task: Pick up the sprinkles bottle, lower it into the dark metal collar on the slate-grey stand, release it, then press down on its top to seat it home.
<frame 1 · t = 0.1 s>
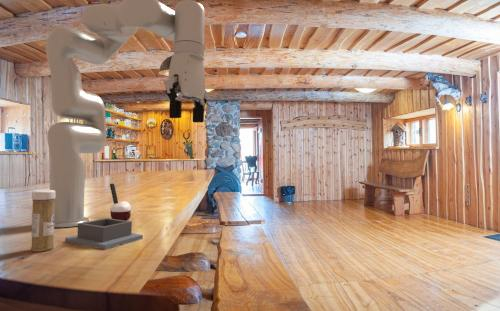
hand: (187, 120, 85), 31 cm above the table, tool pointing down, fingers open, 9 cm apart
cocoa: (120, 221, 111), on the table
bottle stand: (104, 240, 86), on the table
sprinkles bottle: (42, 250, 76), on the table
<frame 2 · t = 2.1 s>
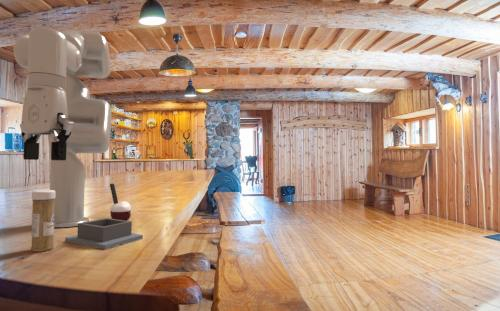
hand: (44, 159, 76), 20 cm above the table, tool pointing down, fingers open, 9 cm apart
nothing on the table moved.
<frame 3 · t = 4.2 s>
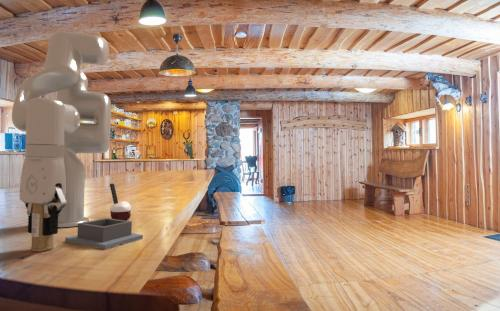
hand: (42, 232, 76), 4 cm above the table, tool pointing down, fingers closed on sprinkles bottle, 4 cm apart
sprinkles bottle: (42, 250, 76), on the table, touching gripper
everything else where it was.
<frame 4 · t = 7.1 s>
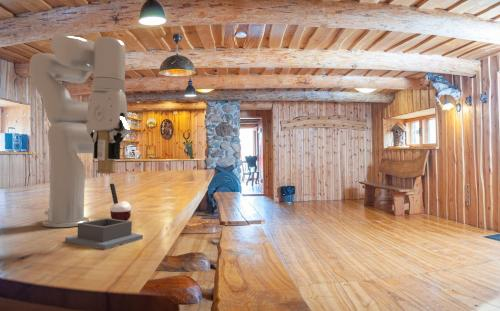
hand: (106, 158, 86), 21 cm above the table, tool pointing down, fingers closed on sprinkles bottle, 4 cm apart
sprinkles bottle: (106, 173, 86), point 17 cm above the table, touching gripper
everything else where it was.
when the fingers open (6 cm above the table, at t = 10.2 s): sprinkles bottle drops 1 cm, resting on bottle stand.
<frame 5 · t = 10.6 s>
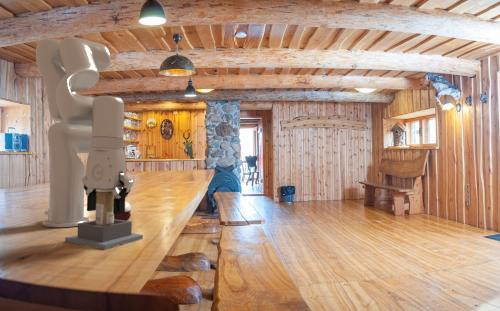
hand: (105, 212, 86), 7 cm above the table, tool pointing down, fingers open, 9 cm apart
sprinkles bottle: (104, 236, 86), point 1 cm above the table, touching bottle stand
everything else where it was.
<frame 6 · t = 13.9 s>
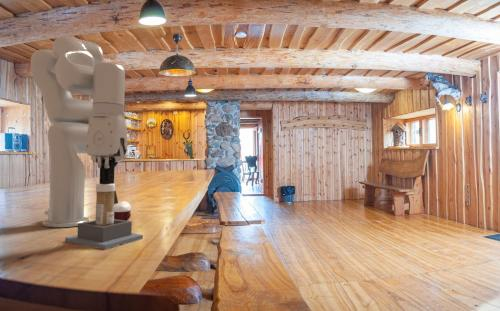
hand: (106, 183, 86), 14 cm above the table, tool pointing down, fingers closed
sprinkles bottle: (104, 236, 86), point 1 cm above the table, touching bottle stand, gripper
everything else where it was.
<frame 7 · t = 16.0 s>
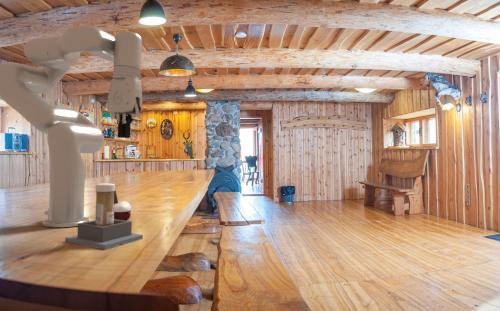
hand: (123, 137, 99), 27 cm above the table, tool pointing down, fingers closed
sprinkles bottle: (104, 236, 86), point 1 cm above the table, touching bottle stand
everything else where it was.
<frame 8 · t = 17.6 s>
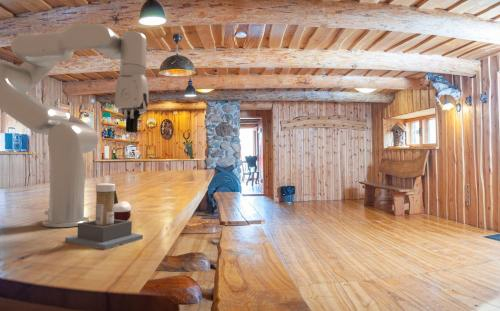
hand: (131, 132, 104), 29 cm above the table, tool pointing down, fingers closed
nothing on the table moved.
at the end: sprinkles bottle 0.3 cm from the bottle stand (horizontally); sprinkles bottle point 0.8 cm above the table; sprinkles bottle tilted 0° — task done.
